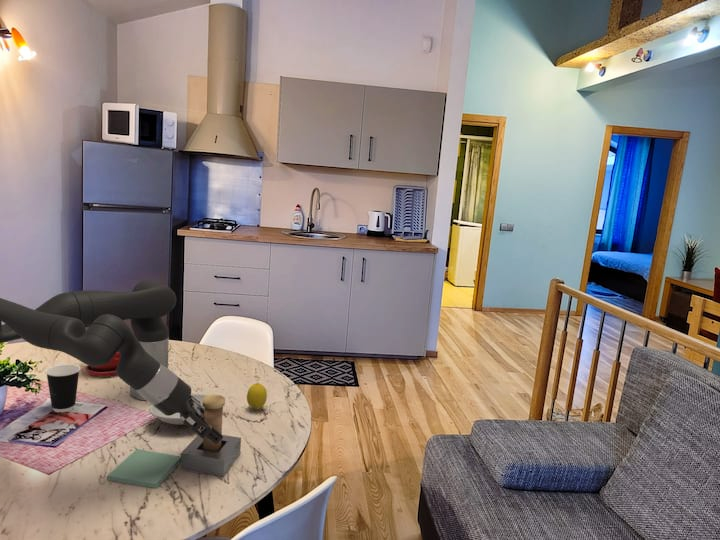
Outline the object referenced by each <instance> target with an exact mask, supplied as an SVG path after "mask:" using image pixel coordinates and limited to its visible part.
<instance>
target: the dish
mask: <svg viewBox="0 0 720 540" xmlns="http://www.w3.org/2000/svg"><path fill="white" fill-rule="evenodd" d="M191 395H192V396H193V397H194V398H195V399H197V400H198V401H200V403H201V406H203V398H204V397H206V396H209V395H210V394H209V395H208V394H204V393H191ZM203 408H204V407H203ZM203 410H204V409H203ZM148 413H150V414H151V415H152V416H155V417H156V418H158V419H159V420H160V421H163V423H164V422H165V423H167V424H170V425H177V426H179V425H180V426H181V425H184V426H186V425H185V424H184V423H183V420H182V419H181V417H180V413H175V414H173V415H170V416H167V415H165V414H163V413H162V412H161V411H159V410H158V409H157V408H156V407H154V406H153V405H152V404H149V406H148Z"/></svg>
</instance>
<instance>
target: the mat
mask: <svg viewBox="0 0 720 540" xmlns="http://www.w3.org/2000/svg"><path fill="white" fill-rule="evenodd" d="M179 464H181V455H176V454H170V453H163V452H157V451H150V450H143V449H138V448H136V449H135V450H134V451H133V452H131V454H129V455H128V456H127V457H126V458H125V459H124V460H123V461H122V462H121V463H119V464H118V465H117V466H116V467H115V468H113V470H112V471H110V472H109V473H108V474H107V475H106V480H107V481H111V482H116V483H117V482H118V483H121V484H128V485H132V486H133V485H135V486H138V487H139V486H140V487H146V488H153V489H158V487H159V486H160V485H161V484H162V483H163V482H164V481H165V479H167V477H168V476H169V475H170V474H171V473H172V472H173V471H174V469H176V467H177V466H178V465H179Z"/></svg>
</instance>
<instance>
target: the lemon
mask: <svg viewBox="0 0 720 540" xmlns="http://www.w3.org/2000/svg"><path fill="white" fill-rule="evenodd" d="M267 392H268V391H267V388H266V387H265V386H264V385H263V384H261V383H259V382H256V383H254V384H252V385H251V386H250V387H249V388H248V390H247V394H246V401H247V403H248V405H249V407H250V408H253V409H254V410H258V409H261V408H262V407H263V406H265V404H266V402H267V399H268V394H267Z"/></svg>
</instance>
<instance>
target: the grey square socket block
mask: <svg viewBox="0 0 720 540" xmlns="http://www.w3.org/2000/svg"><path fill="white" fill-rule="evenodd" d="M222 436H223V438H222V439H221V450H220V451H219V453H217V452H211V451H205V450H203V438H201V437H200V436H199V435H198V434H196V436H195V438H194V439H193V440H192V441H191V442H189V444H188V445H187V446H186V447H185V448H184V449H183V450H182V451H181V452H180V456H181V462H180V470H181V471H185V472H187V471H188V472H192V473H198V474H204V475H211V476H216V477H217V476H218V477H225V475H226V474H227V473H228V471H229V470H230V468H231V467H232V466H233V464H234V463H235V461H236V460H237V459H238V457H239V456H240V454H241V450H242V449H241V447H242V446H241V444H242V437H239V436H233V435H227V434H222Z"/></svg>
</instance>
